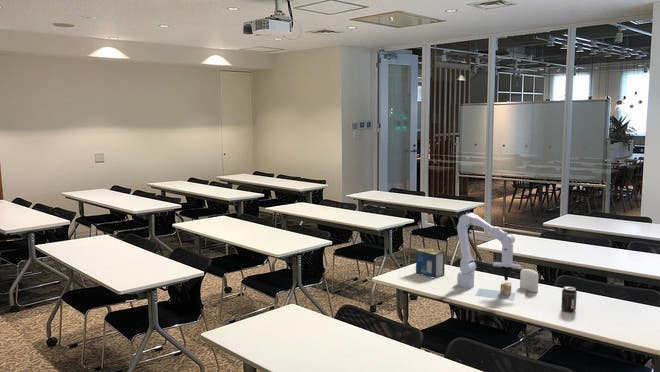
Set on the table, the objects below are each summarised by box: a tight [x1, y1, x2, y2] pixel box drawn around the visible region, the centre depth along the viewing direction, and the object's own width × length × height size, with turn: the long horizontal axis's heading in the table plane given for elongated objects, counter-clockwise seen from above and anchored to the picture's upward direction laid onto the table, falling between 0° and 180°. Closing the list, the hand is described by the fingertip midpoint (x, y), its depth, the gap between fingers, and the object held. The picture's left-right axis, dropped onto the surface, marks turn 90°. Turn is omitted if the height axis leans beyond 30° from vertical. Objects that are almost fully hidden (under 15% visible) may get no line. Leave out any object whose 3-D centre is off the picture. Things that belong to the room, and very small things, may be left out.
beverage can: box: [560, 286, 578, 313], centre depth 268 cm, size 7×7×12 cm
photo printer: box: [519, 268, 539, 293], centre depth 301 cm, size 10×4×12 cm, turn 39°
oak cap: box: [499, 281, 512, 296], centre depth 292 cm, size 5×5×6 cm
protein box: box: [415, 247, 446, 278], centre depth 334 cm, size 10×15×16 cm
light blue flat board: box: [474, 288, 517, 302], centre depth 291 cm, size 20×14×1 cm
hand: (506, 280), depth 291 cm, fingers closed
